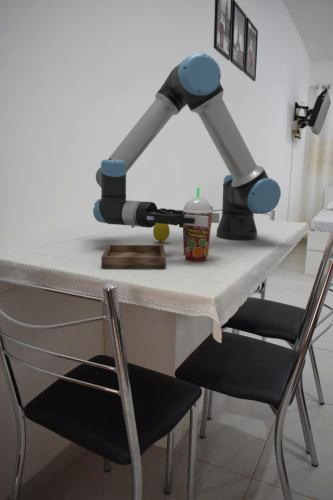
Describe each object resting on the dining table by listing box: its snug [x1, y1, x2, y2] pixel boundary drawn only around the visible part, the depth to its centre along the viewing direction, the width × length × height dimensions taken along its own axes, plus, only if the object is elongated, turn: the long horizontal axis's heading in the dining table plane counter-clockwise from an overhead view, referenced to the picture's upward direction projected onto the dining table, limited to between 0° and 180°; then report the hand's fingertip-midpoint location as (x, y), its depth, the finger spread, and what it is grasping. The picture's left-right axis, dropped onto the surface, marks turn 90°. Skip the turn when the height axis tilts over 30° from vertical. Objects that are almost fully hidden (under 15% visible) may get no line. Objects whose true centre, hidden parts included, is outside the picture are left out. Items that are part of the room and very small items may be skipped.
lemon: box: [152, 223, 171, 244], centre depth 132 cm, size 6×6×8 cm
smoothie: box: [182, 186, 214, 262], centre depth 107 cm, size 8×8×20 cm
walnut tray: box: [100, 244, 167, 270], centre depth 105 cm, size 16×16×3 cm
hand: (213, 219), depth 105 cm, fingers closed on smoothie, 8 cm apart
